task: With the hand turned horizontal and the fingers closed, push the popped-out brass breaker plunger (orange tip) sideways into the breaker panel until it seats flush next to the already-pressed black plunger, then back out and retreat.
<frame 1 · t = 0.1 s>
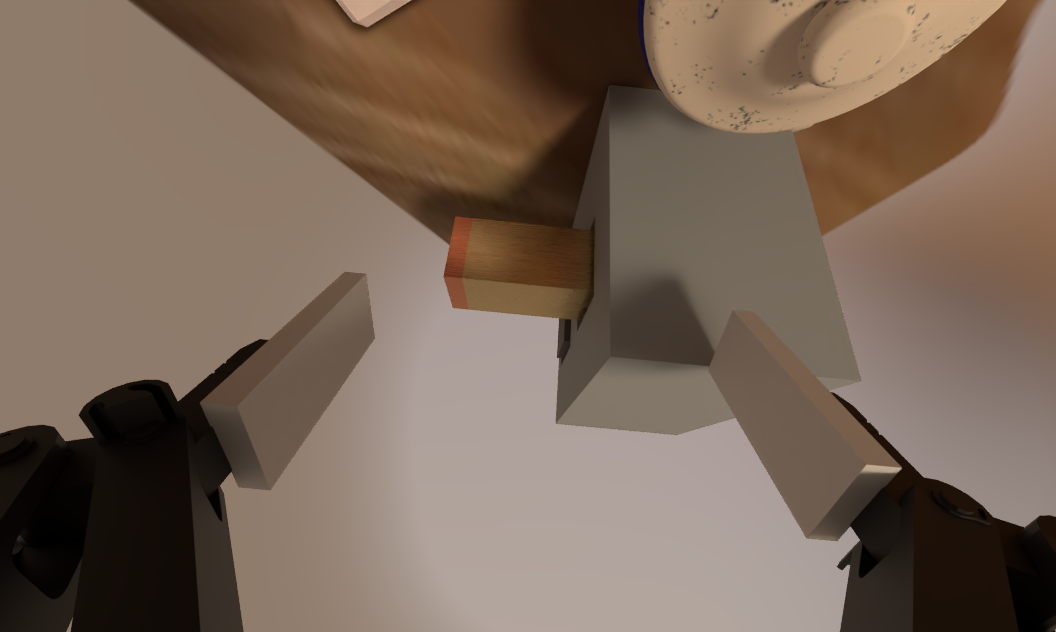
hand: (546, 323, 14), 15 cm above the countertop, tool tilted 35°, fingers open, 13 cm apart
breaker panel: (644, 201, 30), on the countertop
breaker plunger: (536, 272, 23), point 9 cm above the countertop, slide at 0.0 cm
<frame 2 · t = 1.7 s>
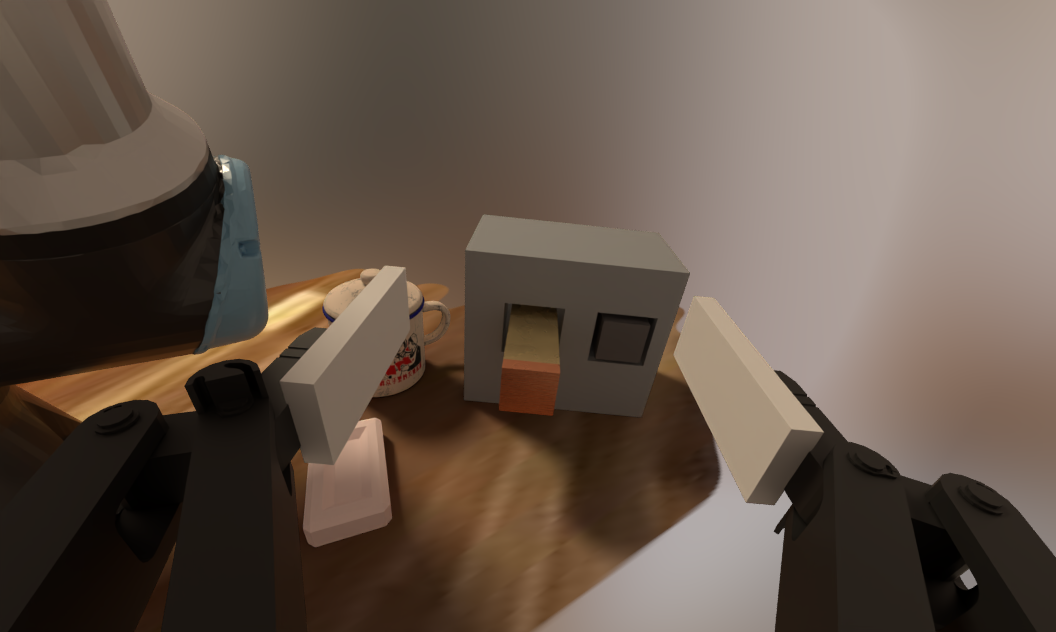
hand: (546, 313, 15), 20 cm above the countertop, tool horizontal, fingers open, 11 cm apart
breaker panel: (552, 376, 43), on the countertop
breaker plunger: (530, 351, 31), point 9 cm above the countertop, slide at 0.0 cm
teacup with lid: (397, 368, 42), on the countertop
soap bar: (351, 485, 30), on the countertop
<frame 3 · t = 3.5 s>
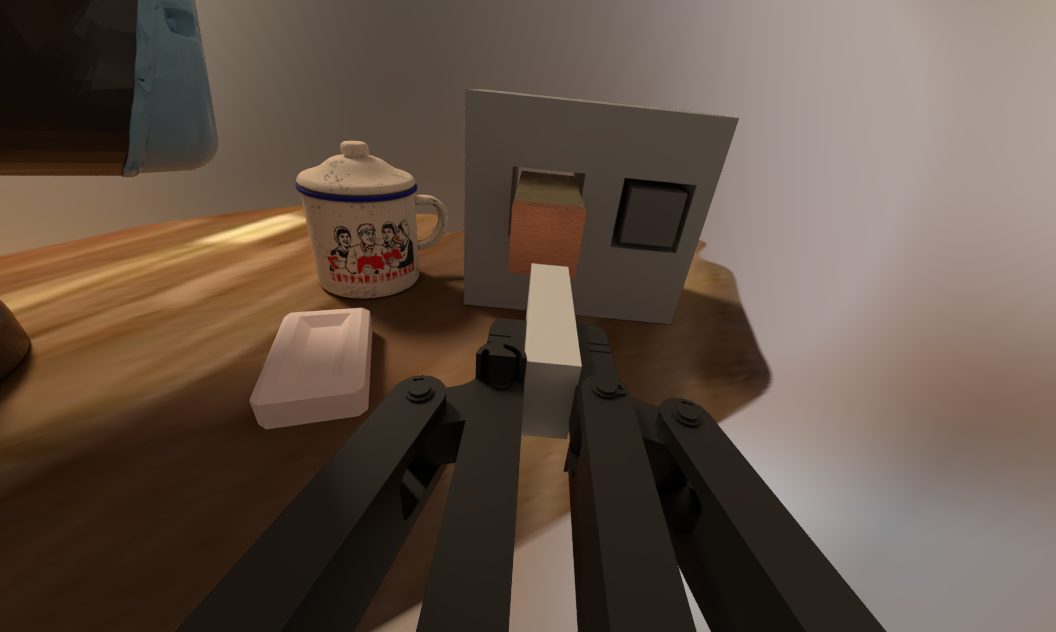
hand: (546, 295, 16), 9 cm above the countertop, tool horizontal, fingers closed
breaker panel: (565, 288, 37), on the countertop
breaker plunger: (545, 218, 26), point 9 cm above the countertop, slide at 0.0 cm
teacup with lid: (387, 278, 36), on the countertop
soap bar: (326, 376, 25), on the countertop
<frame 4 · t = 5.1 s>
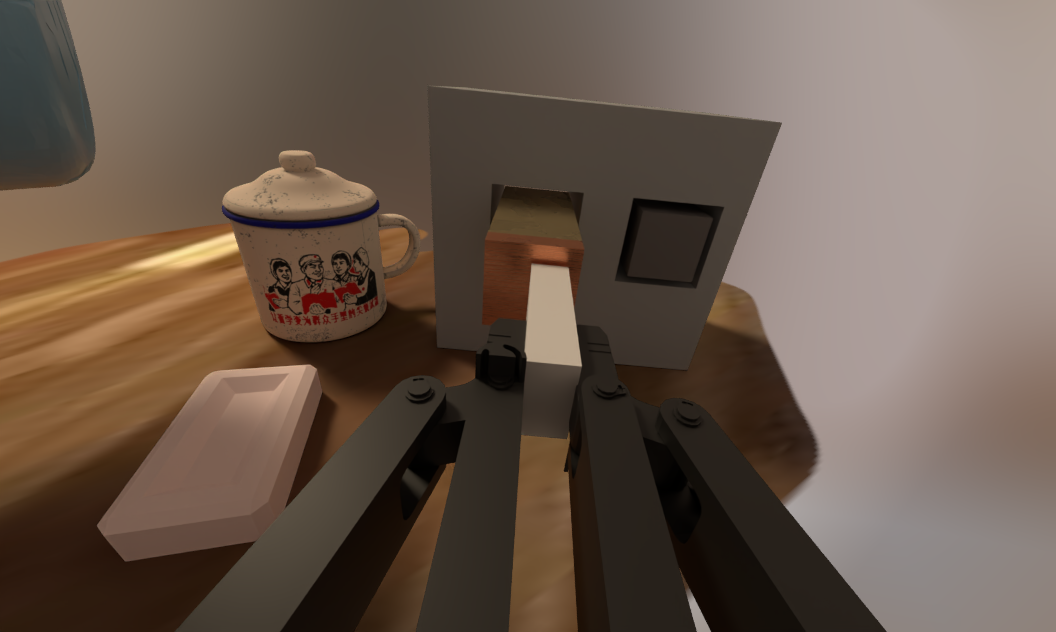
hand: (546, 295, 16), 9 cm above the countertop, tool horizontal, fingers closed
breaker panel: (560, 322, 32), on the countertop
breaker plunger: (532, 247, 21), point 9 cm above the countertop, slide at 0.5 cm, touching gripper
teacup with lid: (348, 311, 31), on the countertop
soap bar: (246, 462, 19), on the countertop
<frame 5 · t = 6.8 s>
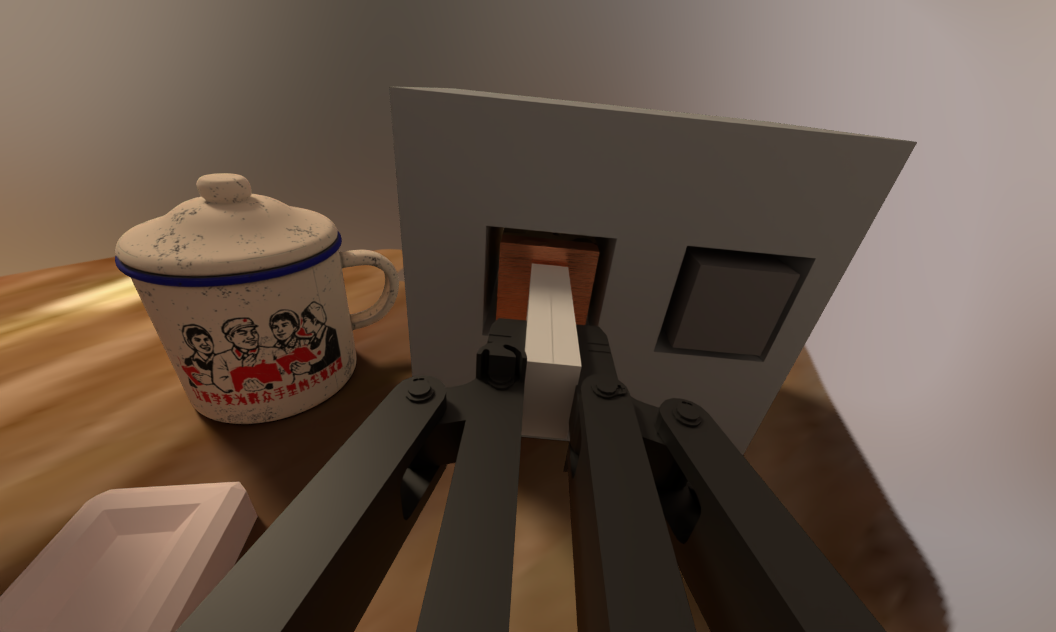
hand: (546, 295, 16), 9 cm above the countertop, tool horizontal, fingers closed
breaker panel: (574, 382, 25), on the countertop
breaker plunger: (544, 249, 21), point 9 cm above the countertop, slide at 7.9 cm, touching gripper
teacup with lid: (308, 370, 24), on the countertop
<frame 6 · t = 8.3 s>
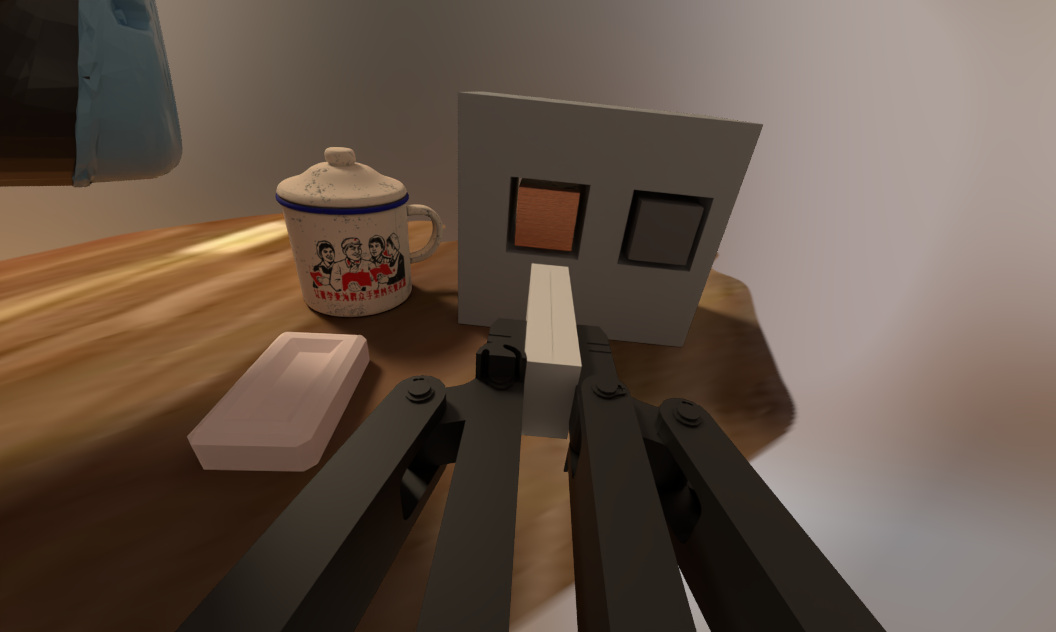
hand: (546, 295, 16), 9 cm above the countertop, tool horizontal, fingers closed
breaker panel: (568, 305, 35), on the countertop
breaker plunger: (546, 201, 30), point 9 cm above the countertop, slide at 8.0 cm
teacup with lid: (378, 292, 34), on the countertop
soap bar: (301, 409, 22), on the countertop
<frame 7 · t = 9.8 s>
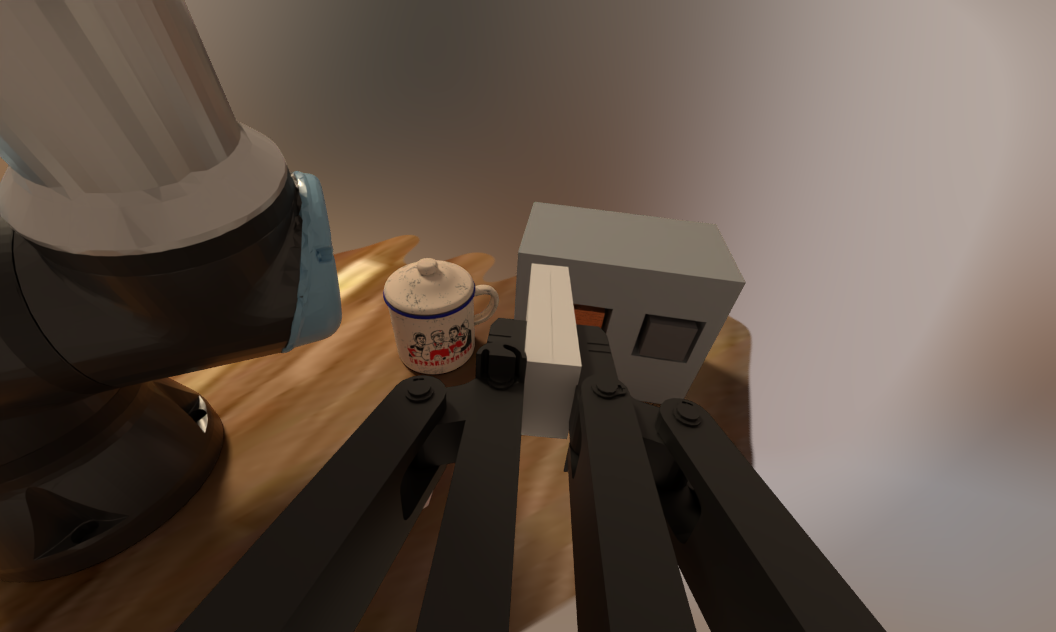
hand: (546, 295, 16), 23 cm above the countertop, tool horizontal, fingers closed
breaker panel: (594, 359, 45), on the countertop
breaker plunger: (580, 294, 39), point 9 cm above the countertop, slide at 8.0 cm
teacup with lid: (449, 345, 45), on the countertop
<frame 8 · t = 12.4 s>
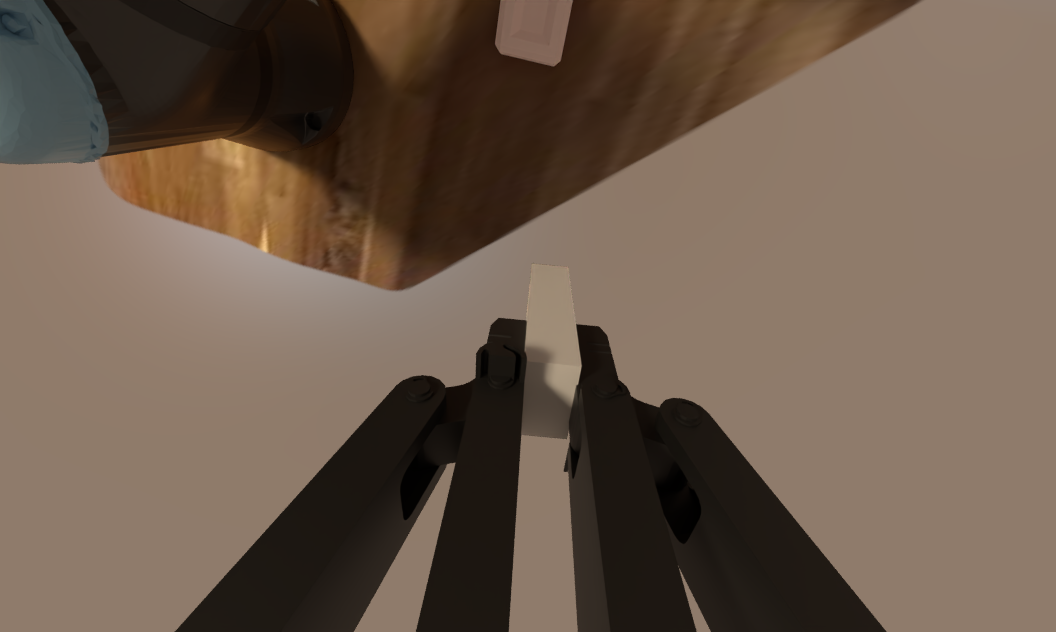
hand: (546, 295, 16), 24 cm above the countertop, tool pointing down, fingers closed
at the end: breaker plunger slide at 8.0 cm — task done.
